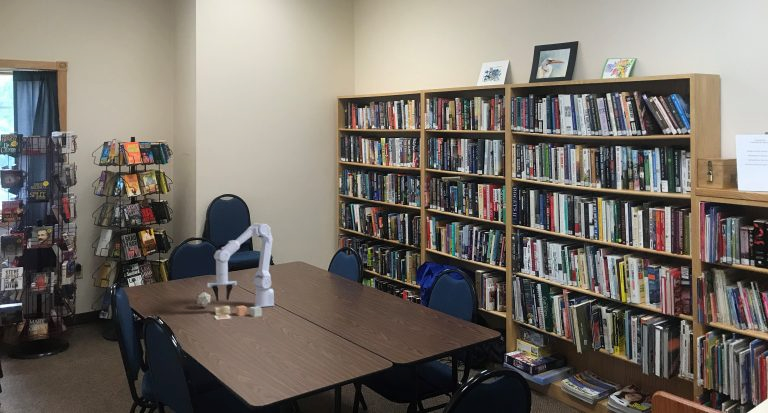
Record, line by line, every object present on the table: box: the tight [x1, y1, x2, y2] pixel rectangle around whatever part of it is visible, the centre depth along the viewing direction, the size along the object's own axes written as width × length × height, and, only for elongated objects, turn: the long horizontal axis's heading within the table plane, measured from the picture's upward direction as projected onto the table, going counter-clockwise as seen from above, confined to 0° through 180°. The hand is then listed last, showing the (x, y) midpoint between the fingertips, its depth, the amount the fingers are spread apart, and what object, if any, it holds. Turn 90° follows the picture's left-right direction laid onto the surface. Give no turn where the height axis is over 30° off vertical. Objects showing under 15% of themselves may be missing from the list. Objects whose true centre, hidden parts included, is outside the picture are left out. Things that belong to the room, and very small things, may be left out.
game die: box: [195, 291, 213, 309], centre depth 323 cm, size 9×8×10 cm
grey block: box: [249, 306, 263, 318], centre depth 307 cm, size 4×5×4 cm
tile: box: [213, 314, 232, 321], centre depth 303 cm, size 7×7×1 cm
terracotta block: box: [235, 305, 248, 317], centre depth 309 cm, size 4×5×4 cm
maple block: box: [214, 305, 231, 316], centre depth 313 cm, size 7×7×3 cm
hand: (222, 300), depth 313 cm, fingers open, 4 cm apart
